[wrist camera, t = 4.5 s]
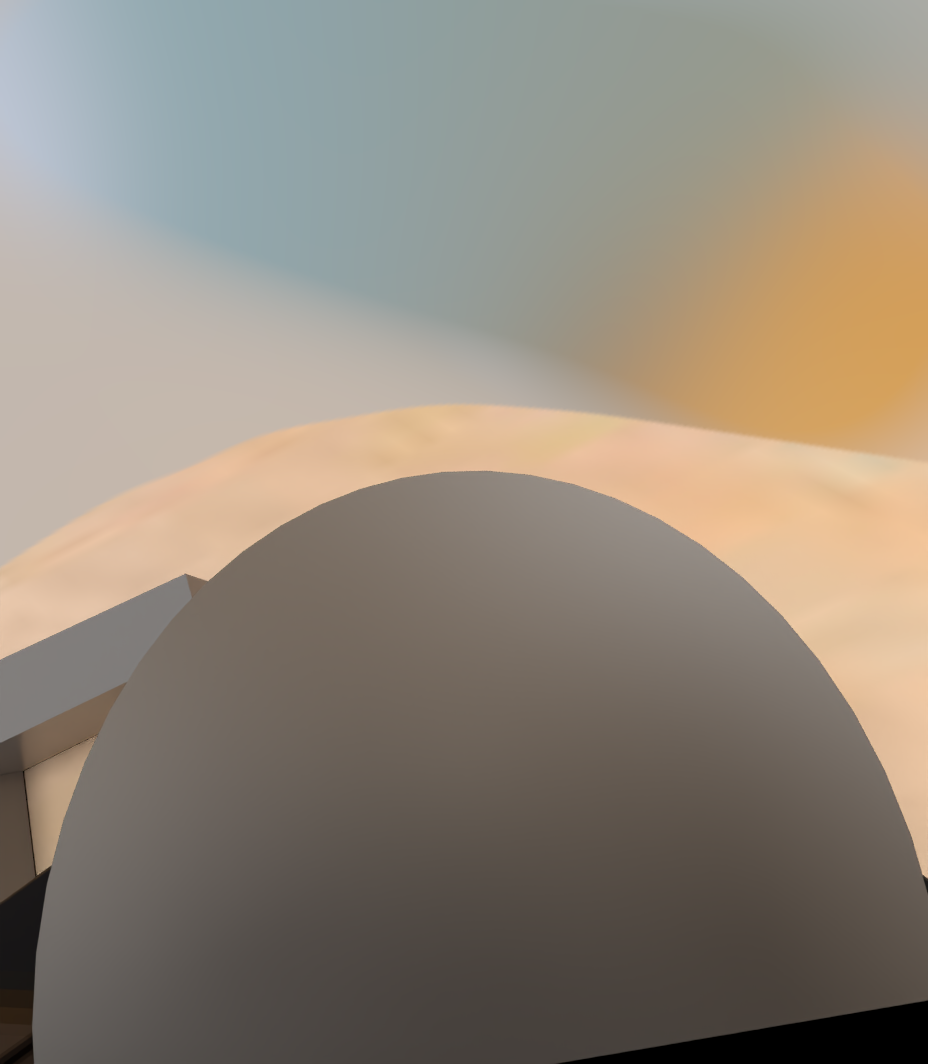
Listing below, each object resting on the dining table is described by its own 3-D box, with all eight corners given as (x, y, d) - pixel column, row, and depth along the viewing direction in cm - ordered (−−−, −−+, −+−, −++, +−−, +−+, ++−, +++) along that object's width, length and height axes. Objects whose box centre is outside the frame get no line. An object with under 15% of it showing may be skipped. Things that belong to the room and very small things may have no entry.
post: (533, 810, 13) (953, 2054, 1) (394, 754, 14) (-172, 1222, 2) (571, 661, 14) (948, 588, 3) (442, 617, 15) (277, 402, 3)
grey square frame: (355, 929, 13) (307, 1019, 9) (-21, 1142, 12) (-227, 1331, 8) (248, 595, 16) (185, 573, 13) (-50, 737, 15) (-204, 754, 12)
